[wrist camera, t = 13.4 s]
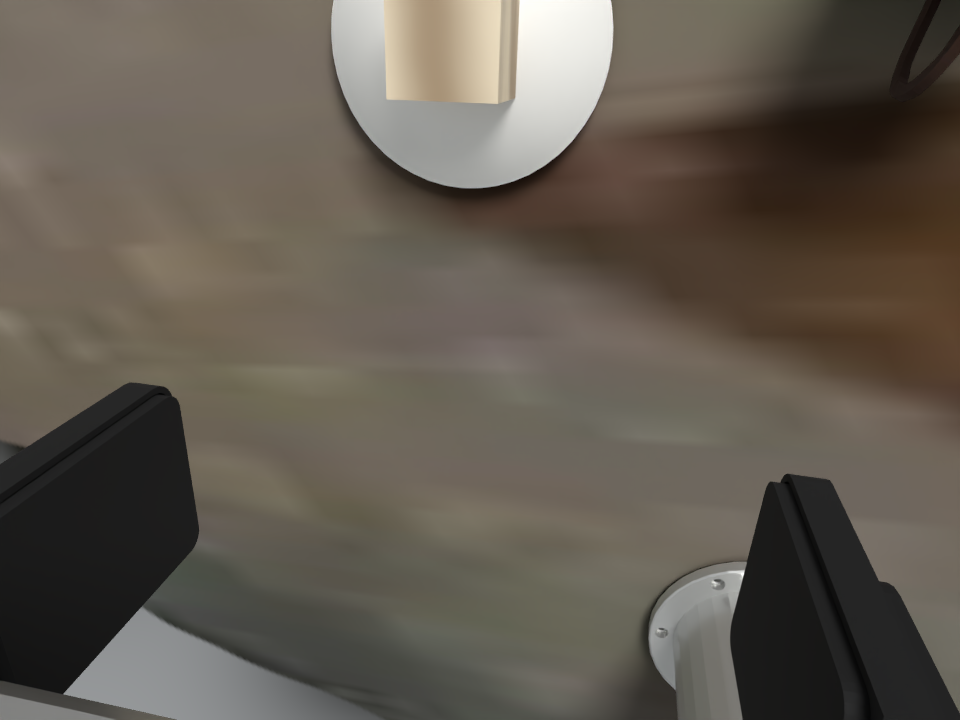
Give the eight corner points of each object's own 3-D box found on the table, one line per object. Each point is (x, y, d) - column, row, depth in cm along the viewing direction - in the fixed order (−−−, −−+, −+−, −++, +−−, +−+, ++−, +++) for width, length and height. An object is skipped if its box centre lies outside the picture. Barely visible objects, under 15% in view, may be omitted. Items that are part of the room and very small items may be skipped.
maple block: (520, -17, 32) (502, -30, 27) (515, 98, 34) (497, 103, 29) (417, -18, 32) (382, -30, 28) (418, 94, 35) (386, 99, 30)
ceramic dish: (631, -125, 30) (631, -131, 29) (596, 194, 36) (595, 198, 35) (334, -125, 32) (323, -132, 31) (345, 174, 38) (337, 178, 37)
